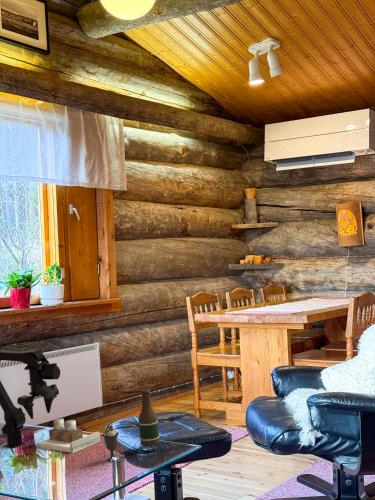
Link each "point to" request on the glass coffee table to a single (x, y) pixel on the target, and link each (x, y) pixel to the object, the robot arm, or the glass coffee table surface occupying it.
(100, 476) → the glass coffee table surface
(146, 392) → the beer bottle
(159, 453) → the glass coffee table surface
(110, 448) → the sundae
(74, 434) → the glass caddy
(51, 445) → the cream flat block
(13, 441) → the robot arm
